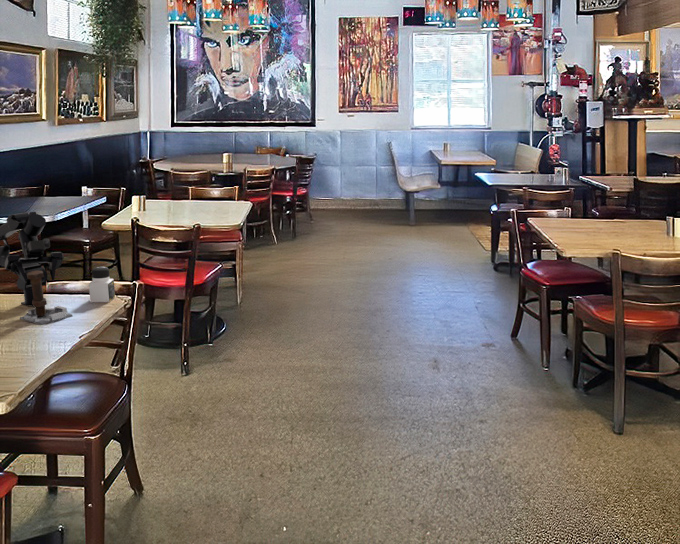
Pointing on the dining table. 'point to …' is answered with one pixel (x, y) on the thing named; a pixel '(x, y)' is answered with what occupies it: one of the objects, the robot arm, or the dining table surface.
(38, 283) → the bolt
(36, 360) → the dining table surface
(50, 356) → the dining table surface
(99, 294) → the medicine bottle
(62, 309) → the ring collar
